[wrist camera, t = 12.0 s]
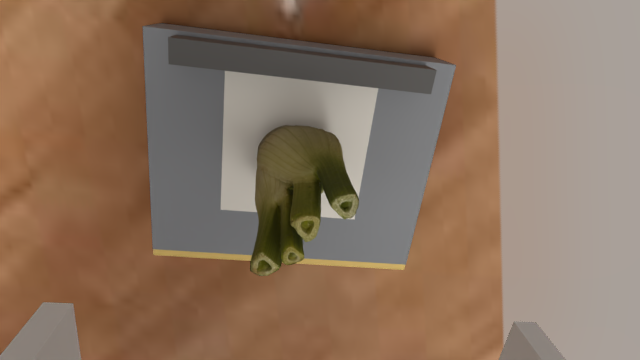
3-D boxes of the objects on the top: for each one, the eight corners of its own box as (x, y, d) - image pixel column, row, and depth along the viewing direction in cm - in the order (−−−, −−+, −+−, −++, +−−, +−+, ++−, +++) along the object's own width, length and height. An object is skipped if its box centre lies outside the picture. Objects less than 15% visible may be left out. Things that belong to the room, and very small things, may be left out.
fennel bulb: (329, 109, 27) (359, 182, 16) (342, 174, 29) (377, 279, 18) (245, 127, 27) (218, 212, 16) (264, 192, 29) (251, 306, 18)
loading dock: (167, 229, 34) (144, 271, 29) (161, 23, 28) (130, 27, 22) (392, 244, 37) (411, 286, 31) (435, 57, 30) (468, 69, 25)
